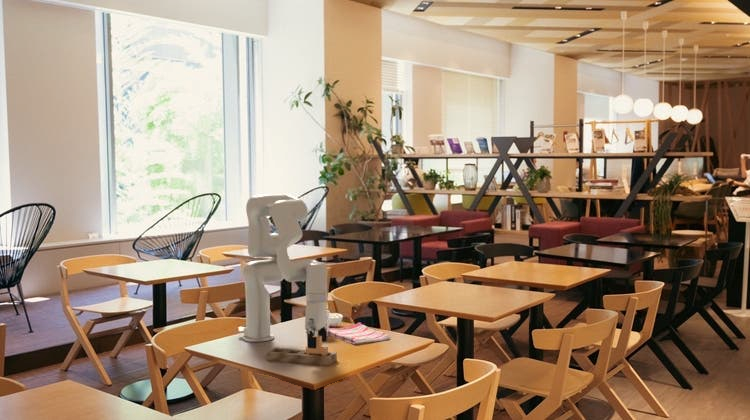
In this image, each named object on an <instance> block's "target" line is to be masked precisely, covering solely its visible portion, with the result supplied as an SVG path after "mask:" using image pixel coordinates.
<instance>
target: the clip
mask: <svg viewBox="0 0 750 420" xmlns="http://www.w3.org/2000/svg"><path fill="white" fill-rule="evenodd" d="M315 337H316V348H315V349H314V348H308V347H307V346H305V350H306V354H307V355H312V353H313V354H322V356H328V352H329V347H328V346H327V347H326V346H323V342H322V336H316V335H315Z"/></svg>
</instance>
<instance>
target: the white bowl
mask: <svg viewBox="0 0 750 420" xmlns="http://www.w3.org/2000/svg"><path fill="white" fill-rule="evenodd" d="M343 318H344V316H343V315H342V314H341V313H338V312H329V328H331V327H332V328H336V327H338V326H339V325H340V324H341V323H342V322H343V321H342V320H343Z"/></svg>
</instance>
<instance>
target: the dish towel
mask: <svg viewBox="0 0 750 420" xmlns="http://www.w3.org/2000/svg"><path fill="white" fill-rule="evenodd" d="M328 330H329V331H328V336H331V337H333V338H336V339H338V340H340V341H343V342H345V343H348V344H350V345H355V346H357V345H363V344H364V343H365V344H371V343H376V342H384V341H388V340H391V335H390V334H387V333H385V332H384V331H381V330H376V329H373V328H370V327H368V326H367V325H365V324H362V322H357V323H356V324H353V325H350V326H347V327H340V328H336V327H332V328H331V327H329V329H328Z"/></svg>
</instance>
